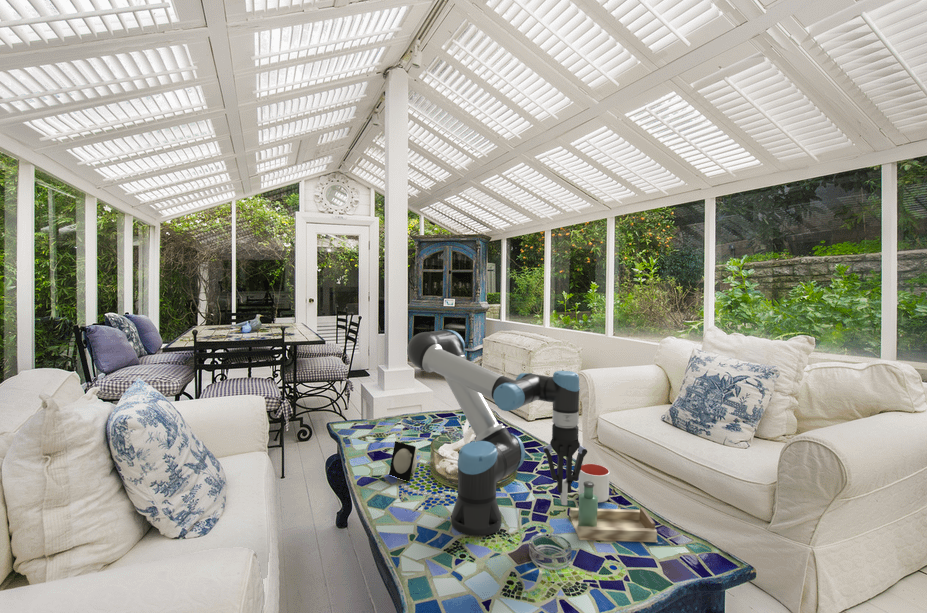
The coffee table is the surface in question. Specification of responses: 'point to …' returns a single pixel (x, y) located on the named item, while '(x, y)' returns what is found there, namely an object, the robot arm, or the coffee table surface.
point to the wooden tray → (617, 526)
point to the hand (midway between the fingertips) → (563, 502)
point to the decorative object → (403, 461)
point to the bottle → (588, 506)
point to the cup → (595, 480)
